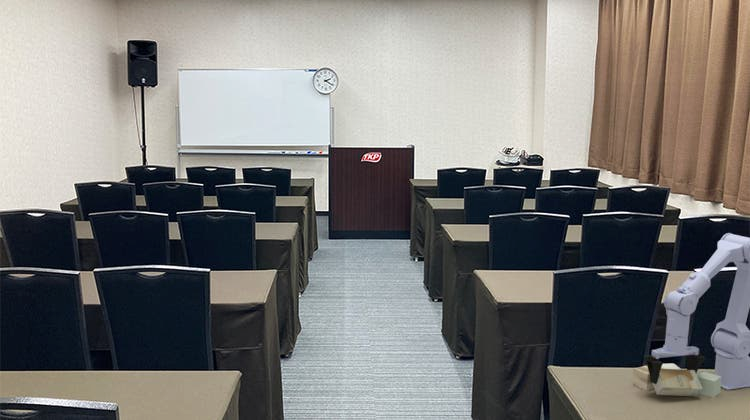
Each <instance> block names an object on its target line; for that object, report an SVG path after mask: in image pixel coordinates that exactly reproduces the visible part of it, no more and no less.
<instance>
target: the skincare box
mask: <svg viewBox="0 0 750 420" xmlns="http://www.w3.org/2000/svg"><path fill="white" fill-rule="evenodd" d="M680 369H681V368H680ZM680 369H660V373H659V377H658V381H657V383H656V384H654V383H652V384H653V386H654V388H655V389H654V390H655V393H656V395H657V396H675V397H677V396H680V397H682V396H683V397H696V396H697V395H699V394H698V393H699V392H700V391H701V390H702V386H701V384H700V381H699V379H698V377H697V375H698V374H697V373H696V372H695V370H687V369H682V370H680Z"/></svg>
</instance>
